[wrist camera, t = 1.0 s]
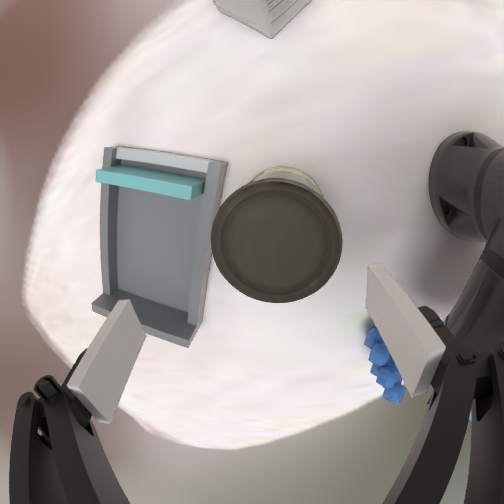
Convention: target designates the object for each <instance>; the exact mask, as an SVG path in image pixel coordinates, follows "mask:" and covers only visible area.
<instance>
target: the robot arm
mask: <svg viewBox="0 0 504 504" xmlns="http://www.w3.org/2000/svg"><path fill="white" fill-rule="evenodd" d="M429 193H430V199H431V203H432V207H433V209H434V212H435V214H436V216H437V218H438V220H439V221H440V223H441V224H442V225H443V226H444V227H445V228H446V229H447V230H448V231H450V232H451V233H453V234H454V235H455V236H457V237H459V238H461V239H464V240H467V241H476V242H487V243H486V246H485V248H484V251H483V253H482V255H481V257H480V259H479V261H478V263H477V265H476V267H475V269H474V271H473V273H472V275H471V277H470V279H469V281H468V283H467V285H466V287H465V288H464V290H463V292H462V294H461V296H460V297H459V299H458V301H457V303H456V304H455V306H454V308H453V309H452V311H451V313H450V314H449V315H448V316H447V317H446V318H445V320H444V322H442V320H441V319H440V318H439V316H438V315H437V314H436V313H435V311H433V310H432V309H430V308H429V307H427V306H422V307H419V308H417V307H416V305H415V304H414V303H413V302H412V300H411V299H410V298H409V296H408V295H407V294H406V293H405V291H404V290H403V289H402V288H401V286H400V285H399V284H398V283H397V282H396V280H395V279H394V278H393V277H392V276H391V274H390V273H389V272H388V271H387V270H386V268H385V267H384V266H383V265H382V264H381V263H377V264H372V265H368V274H367V294H366V309H367V311H368V313H369V315H370V316H371V318H372V320H373V322H374V324H375V326H376V327H377V329H378V331H379V333H380V335H381V337H382V339H383V341H384V342H385V344H386V346H387V348H388V350H389V352H390V354H391V356H392V358H393V360H394V362H395V364H396V366H397V368H398V370H399V372H400V374H401V376H402V378H403V380H404V383H405V385H406V387H407V389H408V391H409V393H410V395H411V397H415V396H418V395H420V394H423V393H426V392H427V390H428V388H429V386H430V384H431V385H432V387H433V389H434V392H433V394H432V396H431V398H430V400H429V401H428V403H427V404H429V406H428V409H427V411H426V415H425V417H424V420H423V422H422V425H421V428H420V430H419V433H418V435H417V437H416V440H415V442H414V444H413V447H412V449H411V451H410V453H409V456H408V458H407V460H406V462H405V464H404V466H403V468H402V470H401V472H400V474H399V476H398V477H397V479H396V481H395V483H394V485H393V487H392V488H391V490H390V492H389V493H388V495H387V497H386V498H385V500H384V502H383V503H382V504H439V503H440V501H441V499H442V497H443V495H444V492H445V490H446V488H447V485H448V483H449V480H450V478H451V476H452V473H453V470H454V467H455V465H456V462H457V459H458V456H459V453H460V450H461V447H462V443H463V440H464V436H465V433H466V429H467V425H468V421H472V431H471V434H472V435H471V454H470V466H469V475H468V483H467V489H466V495H465V500H464V504H504V147H503V146H501V145H500V144H498V143H497V142H495V141H494V140H492V139H491V138H489V137H487V136H486V135H483V134H481V133H477V132H458V133H455V134H453V135H451V136H449V137H448V138H447V139H446V140H445V141H444V142H443V143H442V144H441V145H440V147H439V148H438V150H437V151H436V153H435V156H434V158H433V161H432V164H431V168H430V175H429ZM145 338H146V334H145V332H144V330H143V328H142V326H141V323H140V321H139V319H138V317H137V315H136V313H135V311H134V308H133V306H132V304H131V302H130V299H128V300H119V301H118V302H117V304H116V305H115V307H114V308H113V310H112V311H111V313H110V314H109V316H108V317H107V319H106V320H105V322H104V324H103V325H102V327H101V328H100V330H99V331H98V333H97V334H96V336H95V338H94V339H93V341H92V342H91V344H90V346H89V347H88V349H87V348H86V349H85V350H84V351H83V352H82V353H81V354H80V355H79V357H78V359H77V360H76V363H75V364H74V365H73V367H72V369H71V370H70V372H69V374H68V376H67V378H66V379H65V381H64V383H63V384H62V386H60V385H59V384H58V383H57V381H56V380H55V379H54V377H52V376H51V375H47V376H44V377H42V378H40V379H39V380H38V381H37V383H36V384H35V387H34V391H35V392H36V393H37V394H38V395H39V397H40V398H39V399H38V398H37V397H36V396H35V395H34V394H33V393H32V392H27V393H24V394H23V395H22V396H21V397H20V399H19V400H18V403H17V409H16V414H15V420H14V427H13V434H12V443H11V453H10V472H9V494H10V504H130V502H129V501H128V499H127V497H126V496H125V494H124V492H123V490H122V488H121V486H120V485H119V482H118V480H117V478H116V476H115V474H114V472H113V470H112V468H111V466H110V464H109V461H108V459H107V457H106V455H105V453H104V450H103V447H102V445H101V442H100V440H99V437H98V435H97V432H96V430H95V427H94V424H93V423H92V421H91V420H90V419H91V416H92V415H93V416H94V417H95V418H96V419H97V421H98V422H102V423H108V424H111V422H112V419H113V417H114V414H115V411H116V409H117V406H118V403H119V401H120V398H121V396H122V393H123V391H124V388H125V386H126V383H127V381H128V378H129V376H130V373H131V371H132V369H133V366H134V364H135V361H136V359H137V357H138V354H139V352H140V350H141V347H142V345H143V343H144V341H145ZM38 429H39V430H40V431H41V432H42V435H41V436H40V435H39V434H38Z"/></svg>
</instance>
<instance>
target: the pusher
mask: <svg viewBox="0 0 504 504" xmlns="http://www.w3.org/2000/svg"><path fill="white" fill-rule="evenodd" d="M205 181H206V179H202V178H197V177H192V176H187V175H181V174H176V173H170V172H164V171H159V170H152V169H146V168H140V167H133V166H127V165H118V166H113V167H108V168H103V169H99V170H96V182H100V183H106V184H111V185H117V186H122V187H127V188H133V189H138V190H143V191H148V192H153V193H158V194H163V195H168V196H172V197H177V198H182V199H186V200H192V199H194V198H195V197H197V196H199V195H201V194H203V193H204V187H205Z"/></svg>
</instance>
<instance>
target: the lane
mask: <svg viewBox="0 0 504 504" xmlns="http://www.w3.org/2000/svg"><path fill="white" fill-rule="evenodd" d="M227 164H228V163H227V162H222V161H217V160H211V159H206V158H200V157H194V156H188V155H182V154H175V153H168V152H161V151H154V150H146V149H138V148H129V147H119V146H115V147H105V148H104V156H103V167H102V169H103V168H108V167H113V166H118V165H127V166H133V167H140V168H146V169H152V170H159V171H164V172H170V173H176V174H181V175H187V176H192V177H197V178H202V179H206V181H205V187H204V193H203V194H201V195H199V196H197V197H195V198H194V199H192V200H186V199H182V198H177V197H172V196H168V195H163V194H158V193H153V192H148V191H143V190H138V189H133V188H127V187H122V186H117V185H111V184H106V183H101V201H100V249H101V270H102V283H103V294H102V295H100V296H99V297H98V298H97V299H96V300H95V301H94V302H93V303H92V310H93V311H94V312H96V313H98V314H101V315H103V316H105V317H108V316H109V314H110V313H111V311H112V310H113V308H114V307H115V305H116V304H117V302H118V301H119V300H128V299H130V302H131V304H132V306H133V308H134V311H135V313H136V315H137V317H138V319H139V321H140V323H141V326H142V328H143V330H144V332H145V333H147V334H150V335H152V336H155V337H158V338H161V339H163V340H166V341H169V342H172V343H175V344H178V345H181V346H184V347H187V348H189V346H190V344H191V342H192V340H193V338H194V336H195V334H196V332H197V330H198V328H199V326H200V325H201V323H202V318H203V310H204V303H205V296H206V289H207V282H208V275H209V268H210V262H211V255H212V248H211V230H212V225H213V221H214V219H215V216H216V214H217V212H218V210H219V207H220V202H221V196H222V191H223V185H224V180H225V174H226V169H227Z"/></svg>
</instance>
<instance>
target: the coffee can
mask: <svg viewBox="0 0 504 504" xmlns="http://www.w3.org/2000/svg"><path fill="white" fill-rule="evenodd" d="M211 248H212V253H213V257H214V260H215V263H216V265H217V267H218V269H219V271H220V272H221V274H222V275H223V277H225V279H226V280H227V281H228V282H229V283H230V284H231V285H232V286H233V287H235V288H236V289H237V290H239V291H240V292H241V293H243V294H245V295H247V296H249V297H251V298H253V299H256V300H260V301H264V302H270V303H287V302H293V301H297V300H300V299H303V298H305V297H307V296H309V295H311V294H313V293H315V292H316V291H318V290H319V289H320V288H321V287H322V286H324V285H325V284H326V282H327V281H328V280H329V279H330V278H331V276H332V275H333V273H334V272H335V270H336V268H337V265H338V263H339V260H340V257H341V252H342V233H341V228H340V224H339V221H338V219H337V217H336V214H335V213H334V211H333V209H332V208H331V206H330V205H329V204H328V202H327V201H326V200H325V199H324V197H323V195H322V194H321V191H320V189H319V187H318V186H317V184H316V183H315V182H314V180H313V179H312V178H311V177H309V176H308V175H307V174H305V173H304V172H302V171H300V170H297V169H294V168H290V167H275V168H271V169H268V170H265V171H263V172H262V173H260V174H259V175H257V176H256V177H255V178H254V179H253V180H252V181H250V182H249V183H248V184H246V185H244V186H242V187H241V188H239V189H238V190H236V191H235V192H234V193H233V194H231V195H230V196H229V197H228V198H227V199H226V200H225V202H224V203H223V204H222V206H221V207H220V208H219V210H218V212H217V214H216V216H215V219H214V221H213V225H212V230H211Z"/></svg>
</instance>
